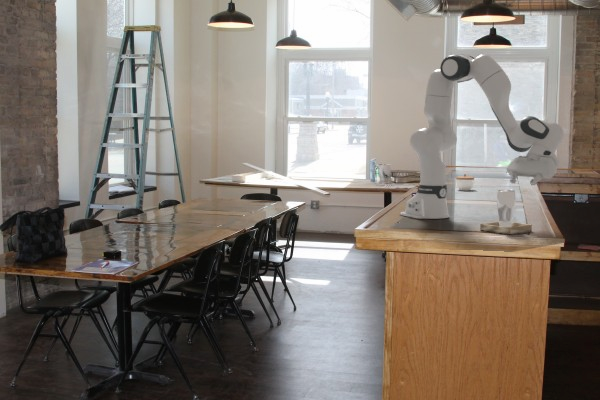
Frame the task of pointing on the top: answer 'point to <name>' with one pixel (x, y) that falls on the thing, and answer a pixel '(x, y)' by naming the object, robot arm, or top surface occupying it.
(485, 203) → the top surface
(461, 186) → the lidded jar
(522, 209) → the top surface
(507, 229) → the oak tray
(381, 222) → the top surface
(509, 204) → the beer glass
